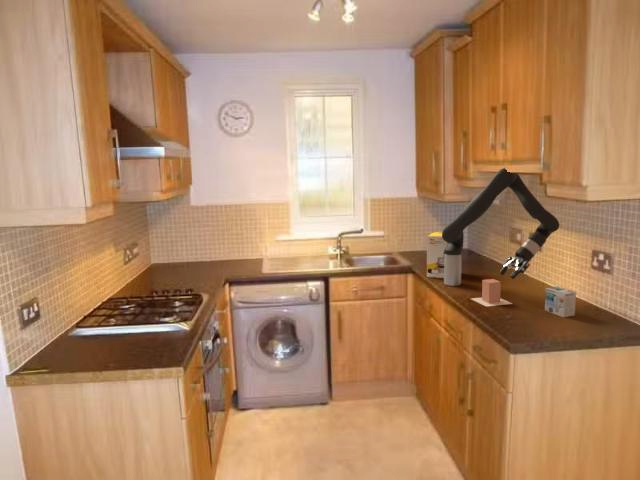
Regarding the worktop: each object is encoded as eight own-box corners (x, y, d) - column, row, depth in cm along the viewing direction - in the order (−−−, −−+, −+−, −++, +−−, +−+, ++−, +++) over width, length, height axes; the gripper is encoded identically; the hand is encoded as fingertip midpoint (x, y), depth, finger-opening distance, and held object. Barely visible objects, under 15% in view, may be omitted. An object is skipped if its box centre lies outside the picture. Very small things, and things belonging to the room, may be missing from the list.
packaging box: (459, 273, 287) (460, 233, 283) (454, 279, 273) (454, 236, 269) (433, 271, 295) (433, 232, 291) (426, 276, 280) (426, 235, 276)
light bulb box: (544, 310, 210) (545, 287, 208) (555, 308, 212) (556, 285, 211) (563, 317, 200) (565, 293, 199) (575, 315, 203) (576, 291, 201)
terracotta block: (481, 299, 228) (482, 280, 226) (492, 298, 229) (493, 279, 228) (488, 303, 222) (489, 282, 221) (500, 302, 223) (500, 281, 222)
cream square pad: (470, 299, 231) (470, 298, 231) (495, 296, 234) (495, 295, 234) (486, 307, 218) (486, 306, 217) (512, 304, 221) (512, 303, 220)
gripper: (513, 243, 232) (492, 268, 231) (532, 248, 218) (510, 274, 218) (522, 253, 234) (501, 277, 233) (542, 258, 220) (520, 284, 220)
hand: (506, 275), depth 226 cm, fingers open, 8 cm apart
